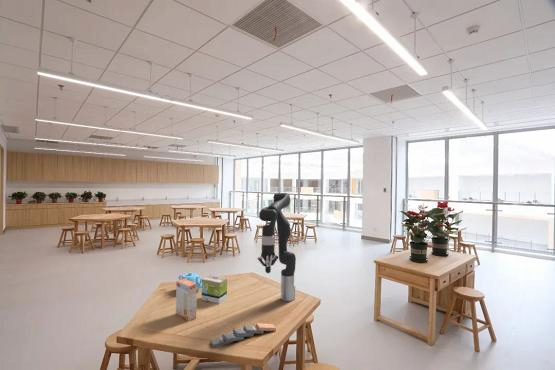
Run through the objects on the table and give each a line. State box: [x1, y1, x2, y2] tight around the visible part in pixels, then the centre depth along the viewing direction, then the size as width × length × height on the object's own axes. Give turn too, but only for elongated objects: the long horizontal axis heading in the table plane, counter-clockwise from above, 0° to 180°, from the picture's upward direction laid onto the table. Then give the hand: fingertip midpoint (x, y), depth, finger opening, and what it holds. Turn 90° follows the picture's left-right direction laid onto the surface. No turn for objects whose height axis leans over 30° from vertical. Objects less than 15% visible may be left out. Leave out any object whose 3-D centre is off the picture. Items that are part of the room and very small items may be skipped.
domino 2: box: [221, 332, 245, 342], centre depth 138 cm, size 2×5×10 cm
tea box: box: [201, 275, 228, 304], centre depth 188 cm, size 15×10×15 cm, turn 68°
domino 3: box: [232, 328, 255, 337], centre depth 142 cm, size 2×5×10 cm
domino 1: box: [210, 336, 234, 348], centre depth 136 cm, size 2×5×10 cm
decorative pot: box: [178, 271, 203, 291], centre depth 204 cm, size 16×16×14 cm
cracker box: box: [175, 279, 198, 322], centre depth 164 cm, size 14×6×21 cm, turn 49°
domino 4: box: [242, 324, 265, 335], centre depth 145 cm, size 2×5×10 cm
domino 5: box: [255, 322, 277, 332], centre depth 148 cm, size 2×5×10 cm
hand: (267, 272), depth 157 cm, fingers closed
